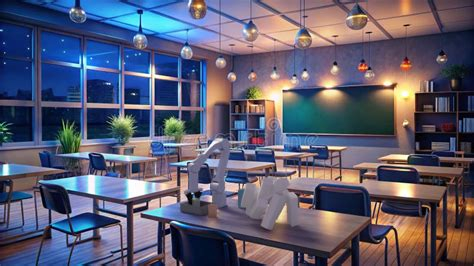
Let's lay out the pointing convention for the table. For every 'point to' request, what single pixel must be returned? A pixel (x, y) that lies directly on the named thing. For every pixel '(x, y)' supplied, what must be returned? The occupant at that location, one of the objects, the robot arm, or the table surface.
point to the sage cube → (196, 202)
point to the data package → (240, 197)
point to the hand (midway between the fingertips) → (193, 204)
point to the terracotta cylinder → (212, 210)
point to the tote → (195, 208)
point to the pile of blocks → (270, 201)
